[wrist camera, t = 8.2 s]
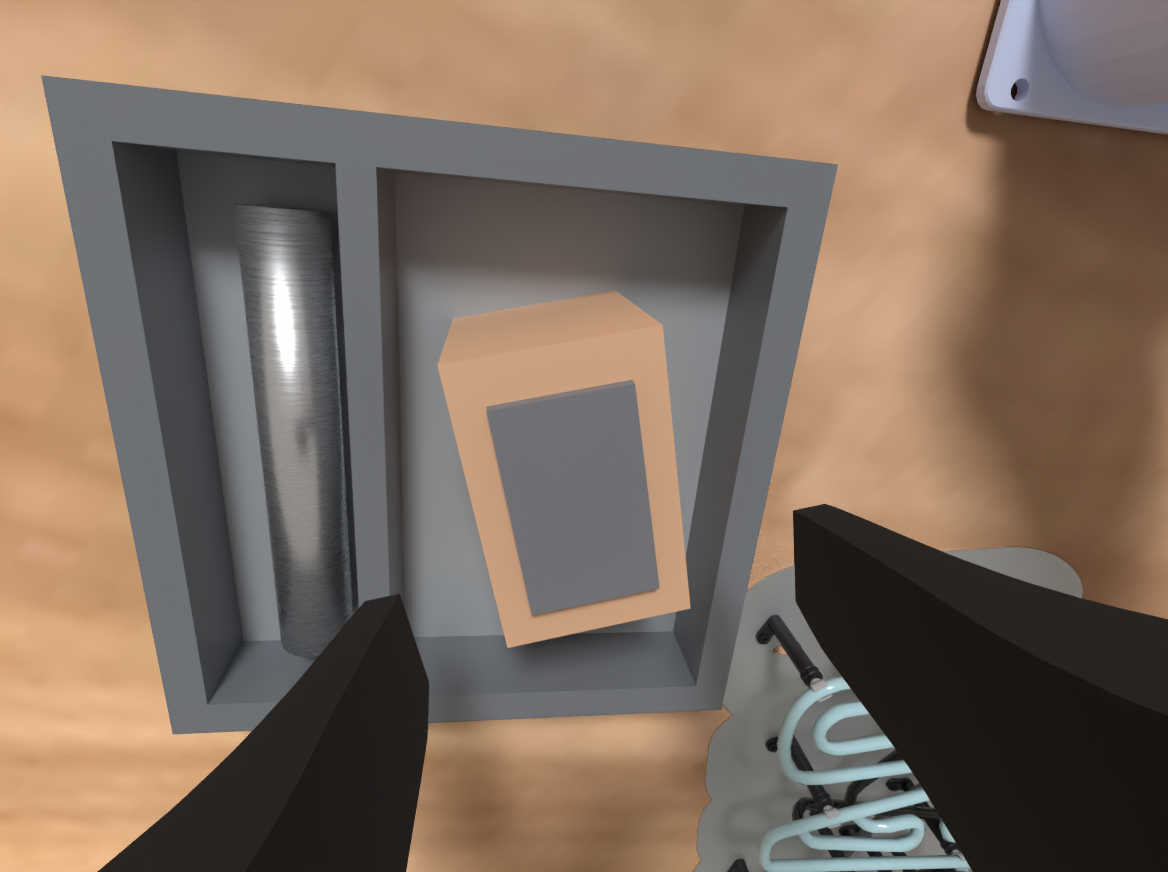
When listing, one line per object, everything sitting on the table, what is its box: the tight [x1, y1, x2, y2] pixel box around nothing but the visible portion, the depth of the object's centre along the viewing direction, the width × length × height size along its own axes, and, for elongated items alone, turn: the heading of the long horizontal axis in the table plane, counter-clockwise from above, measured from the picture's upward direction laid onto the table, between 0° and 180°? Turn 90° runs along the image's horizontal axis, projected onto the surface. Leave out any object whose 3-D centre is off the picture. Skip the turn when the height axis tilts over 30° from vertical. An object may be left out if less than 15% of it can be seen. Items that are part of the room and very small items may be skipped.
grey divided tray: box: [41, 75, 838, 734], centre depth 17 cm, size 16×16×3 cm
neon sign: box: [693, 546, 1083, 872], centre depth 25 cm, size 21×4×29 cm
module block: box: [437, 291, 691, 648], centre depth 15 cm, size 4×7×5 cm, turn 8°
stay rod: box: [233, 203, 353, 657], centre depth 16 cm, size 12×2×2 cm, turn 175°
